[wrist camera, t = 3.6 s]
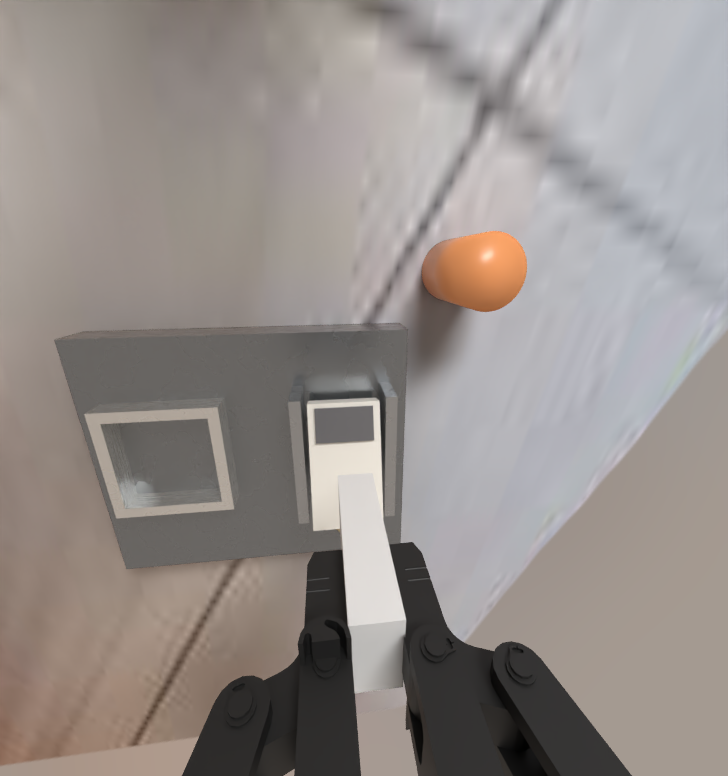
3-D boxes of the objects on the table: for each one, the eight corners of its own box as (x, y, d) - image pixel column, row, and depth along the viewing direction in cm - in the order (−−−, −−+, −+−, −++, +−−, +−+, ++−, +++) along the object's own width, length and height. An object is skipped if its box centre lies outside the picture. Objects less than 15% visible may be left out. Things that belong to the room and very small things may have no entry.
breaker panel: (83, 331, 26) (14, 351, 20) (399, 323, 28) (418, 338, 22) (143, 542, 33) (104, 603, 27) (394, 521, 35) (408, 572, 29)
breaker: (308, 400, 26) (306, 404, 23) (375, 397, 26) (380, 401, 24) (314, 518, 26) (313, 532, 24) (379, 512, 27) (384, 526, 25)
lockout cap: (423, 239, 26) (456, 231, 20) (481, 239, 27) (532, 231, 20) (420, 301, 28) (450, 312, 21) (475, 300, 28) (520, 311, 22)
